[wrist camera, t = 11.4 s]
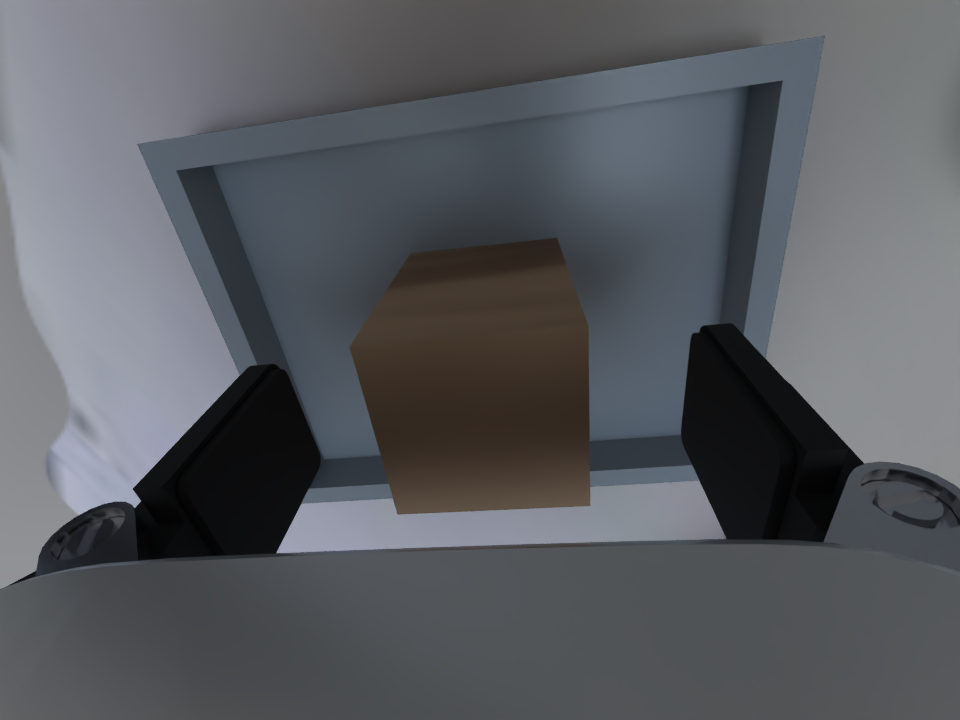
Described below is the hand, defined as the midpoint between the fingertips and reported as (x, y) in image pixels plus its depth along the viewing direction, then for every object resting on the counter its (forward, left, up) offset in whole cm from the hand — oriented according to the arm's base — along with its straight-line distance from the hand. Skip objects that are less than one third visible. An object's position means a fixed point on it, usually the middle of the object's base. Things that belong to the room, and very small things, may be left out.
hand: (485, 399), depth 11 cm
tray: (+1, 0, -8) cm, 8 cm away
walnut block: (+1, 0, -7) cm, 7 cm away
